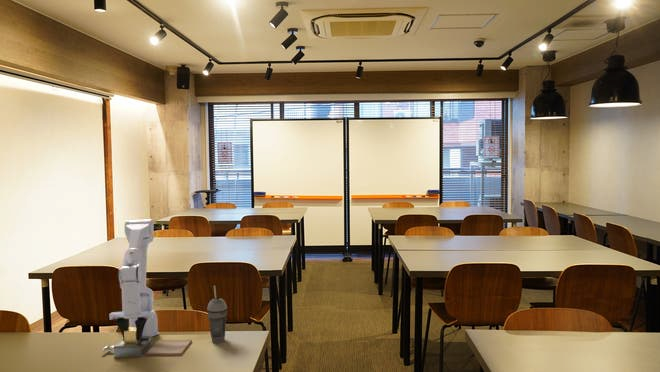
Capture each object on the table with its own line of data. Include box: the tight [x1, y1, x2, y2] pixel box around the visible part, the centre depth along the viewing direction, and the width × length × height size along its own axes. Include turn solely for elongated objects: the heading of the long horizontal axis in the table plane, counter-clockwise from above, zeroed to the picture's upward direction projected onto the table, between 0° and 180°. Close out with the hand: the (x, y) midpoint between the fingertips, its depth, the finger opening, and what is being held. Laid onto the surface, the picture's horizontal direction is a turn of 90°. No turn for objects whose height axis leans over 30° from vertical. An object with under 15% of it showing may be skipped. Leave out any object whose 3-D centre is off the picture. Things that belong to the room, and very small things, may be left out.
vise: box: [101, 336, 152, 358], centre depth 162 cm, size 9×14×4 cm, turn 90°
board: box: [144, 339, 193, 357], centre depth 165 cm, size 12×12×1 cm
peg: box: [124, 326, 141, 344], centre depth 162 cm, size 4×4×8 cm
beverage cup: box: [206, 285, 228, 344], centre depth 171 cm, size 7×7×20 cm
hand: (132, 339), depth 162 cm, fingers closed on peg, 4 cm apart
